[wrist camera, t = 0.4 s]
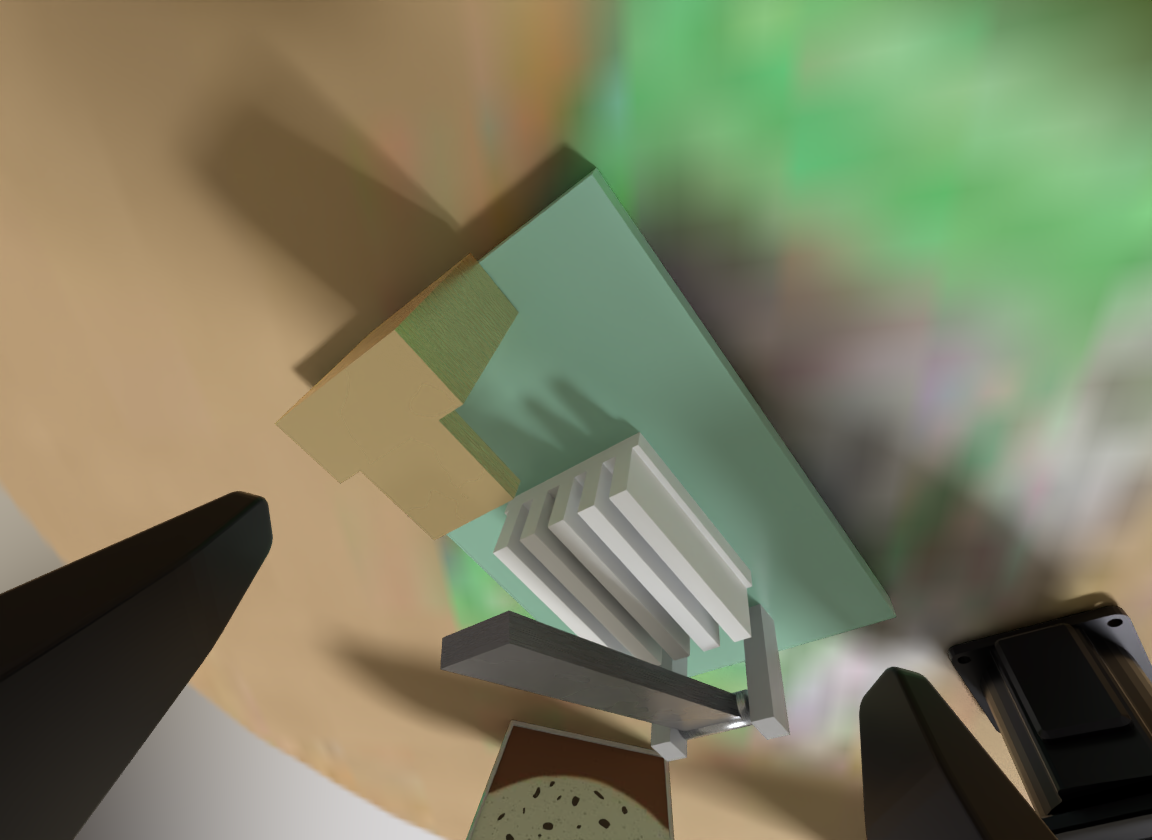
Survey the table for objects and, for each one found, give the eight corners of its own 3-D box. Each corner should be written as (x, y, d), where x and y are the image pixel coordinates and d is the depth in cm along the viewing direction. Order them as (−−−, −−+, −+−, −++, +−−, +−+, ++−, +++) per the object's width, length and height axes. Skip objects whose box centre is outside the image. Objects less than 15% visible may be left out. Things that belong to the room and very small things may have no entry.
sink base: (889, 597, 25) (938, 737, 20) (619, 679, 31) (606, 802, 26) (596, 167, 18) (559, 221, 13) (318, 386, 24) (221, 480, 19)
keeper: (574, 380, 21) (538, 486, 16) (472, 441, 23) (414, 551, 18) (470, 252, 19) (394, 330, 14) (369, 333, 21) (274, 423, 16)
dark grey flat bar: (754, 692, 23) (762, 725, 23) (687, 709, 25) (693, 742, 24) (517, 599, 15) (519, 648, 14) (435, 633, 16) (431, 680, 15)
